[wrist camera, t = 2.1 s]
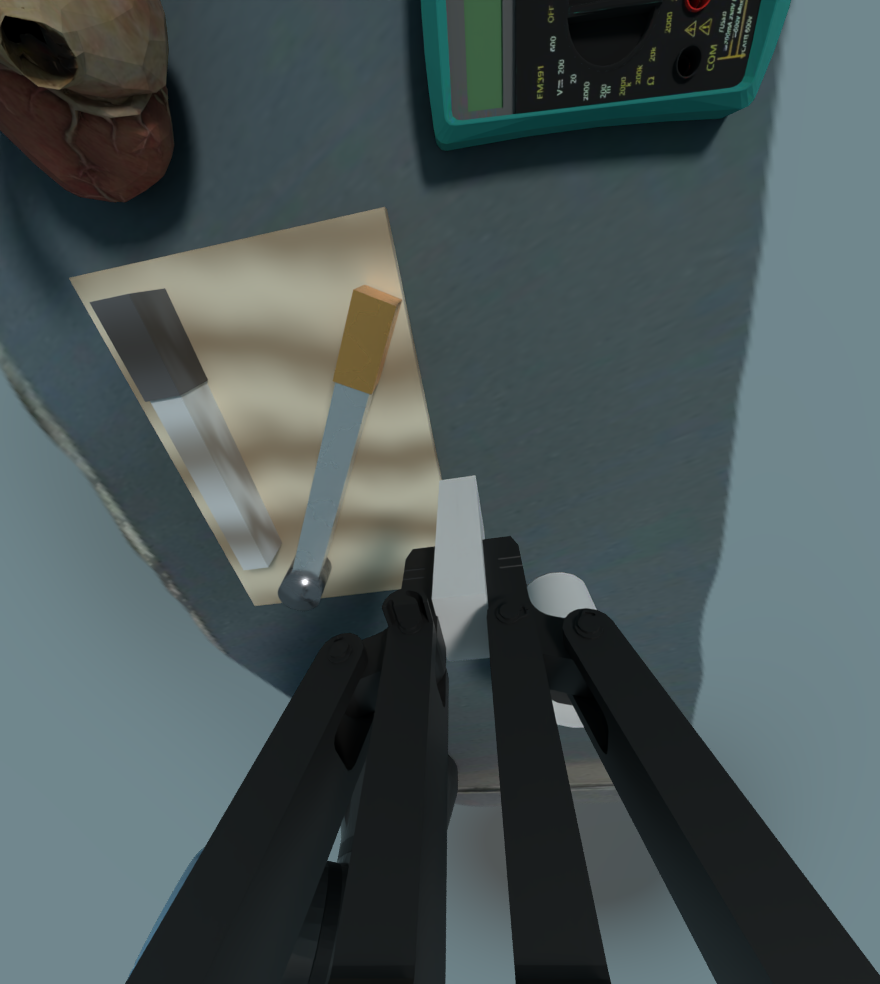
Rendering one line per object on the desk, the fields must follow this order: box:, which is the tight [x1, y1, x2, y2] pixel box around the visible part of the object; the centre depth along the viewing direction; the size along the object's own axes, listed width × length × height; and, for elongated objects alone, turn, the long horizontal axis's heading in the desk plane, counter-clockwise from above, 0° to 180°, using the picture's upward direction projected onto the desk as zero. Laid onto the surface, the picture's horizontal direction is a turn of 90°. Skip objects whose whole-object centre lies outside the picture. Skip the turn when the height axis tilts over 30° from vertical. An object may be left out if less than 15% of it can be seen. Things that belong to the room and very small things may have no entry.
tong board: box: [69, 207, 442, 606], centre depth 29 cm, size 27×19×4 cm
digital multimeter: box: [421, 0, 791, 151], centre depth 18 cm, size 8×15×3 cm, turn 95°
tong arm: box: [278, 285, 402, 611], centre depth 28 cm, size 24×3×4 cm, turn 160°
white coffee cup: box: [527, 572, 597, 728], centre depth 33 cm, size 7×7×10 cm
